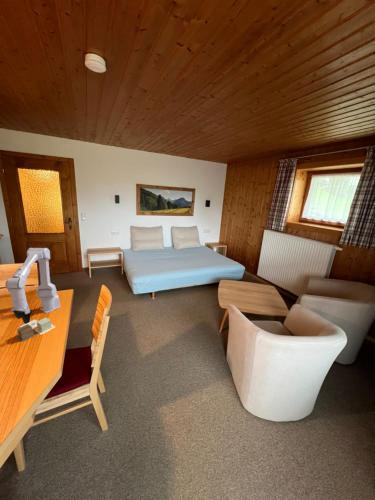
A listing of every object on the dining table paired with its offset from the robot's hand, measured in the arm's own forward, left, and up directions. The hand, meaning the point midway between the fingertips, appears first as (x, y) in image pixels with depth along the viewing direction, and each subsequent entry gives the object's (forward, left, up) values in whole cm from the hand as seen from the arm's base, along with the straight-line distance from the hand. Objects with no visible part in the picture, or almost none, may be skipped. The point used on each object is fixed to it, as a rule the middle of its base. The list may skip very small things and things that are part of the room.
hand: (23, 320), depth 108 cm
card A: (-5, -7, -9) cm, 12 cm away
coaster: (+1, +1, -9) cm, 9 cm away
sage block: (-8, +3, -9) cm, 13 cm away
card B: (-8, +3, -9) cm, 13 cm away
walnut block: (+1, +1, -9) cm, 9 cm away
